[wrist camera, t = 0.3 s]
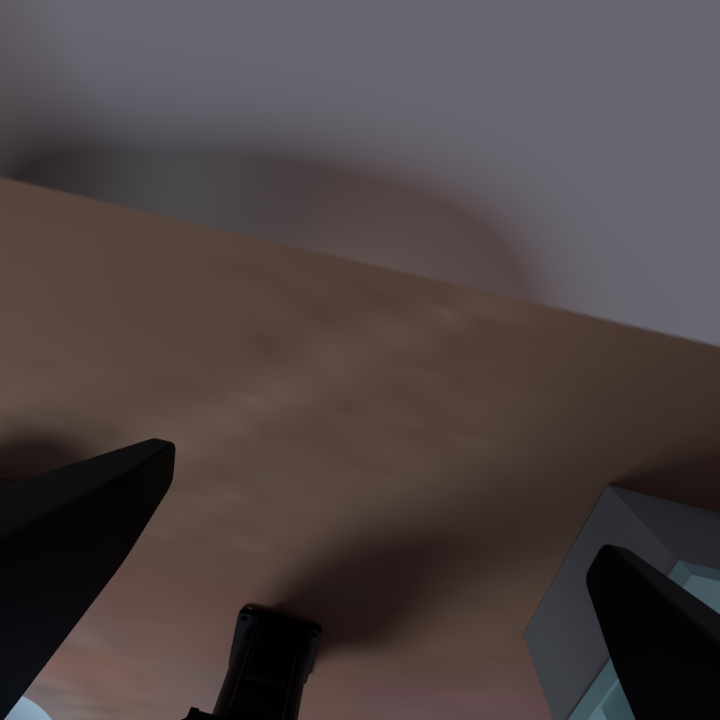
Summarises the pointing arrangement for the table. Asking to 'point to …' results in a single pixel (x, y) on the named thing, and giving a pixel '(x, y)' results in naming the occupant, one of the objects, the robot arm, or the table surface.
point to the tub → (571, 597)
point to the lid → (606, 697)
